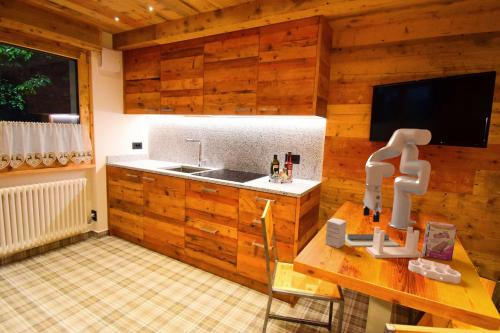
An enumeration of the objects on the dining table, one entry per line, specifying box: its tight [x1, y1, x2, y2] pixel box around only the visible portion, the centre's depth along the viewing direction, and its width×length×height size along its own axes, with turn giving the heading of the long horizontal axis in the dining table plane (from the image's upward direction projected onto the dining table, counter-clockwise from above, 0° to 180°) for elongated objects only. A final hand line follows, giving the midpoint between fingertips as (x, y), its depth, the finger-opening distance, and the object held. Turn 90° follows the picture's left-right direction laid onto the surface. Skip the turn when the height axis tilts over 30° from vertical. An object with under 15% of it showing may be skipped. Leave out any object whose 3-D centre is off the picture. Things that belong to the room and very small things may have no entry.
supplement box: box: [325, 217, 347, 249], centre depth 138 cm, size 7×7×13 cm
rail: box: [347, 233, 390, 240], centre depth 145 cm, size 22×2×2 cm, turn 95°
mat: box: [345, 233, 400, 248], centre depth 145 cm, size 26×14×1 cm, turn 95°
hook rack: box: [365, 226, 424, 259], centre depth 130 cm, size 24×8×12 cm, turn 95°
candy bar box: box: [421, 220, 458, 262], centre depth 127 cm, size 11×5×16 cm, turn 71°
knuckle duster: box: [407, 257, 462, 284], centre depth 114 cm, size 3×18×15 cm
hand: (370, 218), depth 144 cm, fingers open, 9 cm apart
